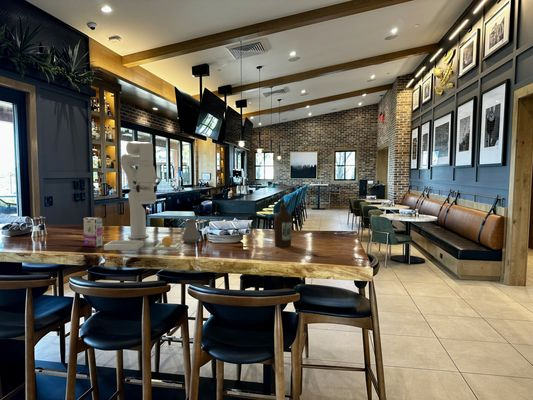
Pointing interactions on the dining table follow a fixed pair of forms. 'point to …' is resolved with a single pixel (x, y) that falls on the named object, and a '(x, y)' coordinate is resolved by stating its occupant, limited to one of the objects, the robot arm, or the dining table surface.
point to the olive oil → (283, 228)
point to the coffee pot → (191, 232)
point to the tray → (162, 247)
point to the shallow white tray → (124, 245)
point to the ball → (167, 241)
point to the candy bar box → (93, 232)
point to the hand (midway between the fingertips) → (146, 192)
